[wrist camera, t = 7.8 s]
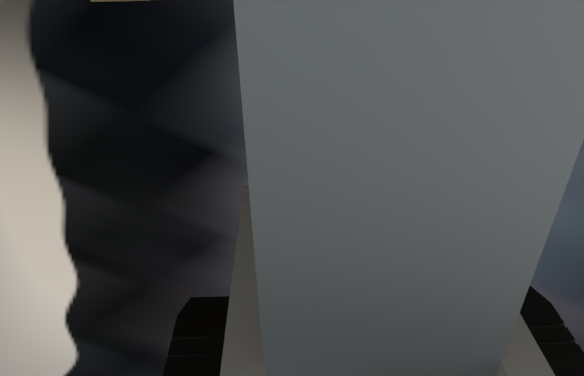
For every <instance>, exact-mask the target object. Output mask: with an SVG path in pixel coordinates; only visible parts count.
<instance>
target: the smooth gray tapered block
mask: <svg viewBox="0 0 584 376" xmlns="http://www.w3.org/2000/svg"><path fill="white" fill-rule="evenodd" d="M233 4H234V16H235V28H236V40H237V52H238V64H239V76H240V88H241V100H242V112H243V124H244V136H245V148H246V160H247V172H248V184H249V196H250V208H251V220H252V232H253V244H254V256H255V268H256V280H257V292H258V304H259V316H260V328H261V340H262V352H263V364H264V367H266V376H495V375H496V373H497V370H498V367H499V364H500V362H501V360H502V359H503V356H504V354H505V351H506V348H507V345H508V343H509V340H510V337H511V335H512V332H513V329H514V327H515V324H516V321H517V318H518V316H519V313H520V310H521V308H522V305H523V302H524V299H525V297H526V294H527V291H528V289H529V286H530V283H531V281H532V278H533V275H534V272H535V270H536V267H537V264H538V262H539V259H540V256H541V253H542V251H543V248H544V245H545V243H546V240H547V237H548V235H549V232H550V229H551V226H552V224H553V221H554V218H555V216H556V213H557V210H558V207H559V205H560V202H561V199H562V197H563V194H564V191H565V189H566V186H567V183H568V180H569V178H570V175H571V172H572V170H573V167H574V164H575V161H576V159H577V156H578V153H579V151H580V148H581V145H582V143H583V140H584V0H233Z"/></svg>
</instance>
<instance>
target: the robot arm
mask: <svg viewBox="0 0 584 376" xmlns="http://www.w3.org/2000/svg"><path fill="white" fill-rule="evenodd" d="M163 376H266V367H264V364H263V352H262V340H261V328H260V316H259V304H258V292H257V280H256V268H255V256H254V244H253V232H252V220H251V208H250V196H249V186H243V192H242V200H241V208H240V216H239V224H238V232H237V240H236V248H235V257H234V265H233V273H232V281H231V289H230V296H227V297H193V298H190V299H189V301H188V302H187V303H186V305H185V306H184V307H183V309H182V310H181V311H180V313H179V314H178V315H177V319H176V323H175V327H174V331H173V335H172V341H171V344H170V348H169V352H168V358H167V360H166V365H165V369H164V373H163ZM495 376H584V353H583V351H582V350H581V348H580V346H579V345H576V343H575V339H574V337H573V336H572V334H571V333H570V331H569V330H568V328H567V327H566V328H565V326H564V322H563V320H562V319H561V317H560V316H559V314H558V313H557V311H556V310H555V308H554V307H553V305H552V304H551V303H550V302H549V301H548V300H547V299H545V298H544V297H543V296H542V295H541V294H539V293H538V292H537V291H536V290H535V289H533V288H532V287H531V286H529V289H528V291H527V294H526V297H525V299H524V302H523V305H522V308H521V310H520V313H519V316H518V318H517V321H516V324H515V327H514V329H513V332H512V335H511V337H510V340H509V343H508V345H507V348H506V351H505V354H504V356H503V359H502V360H501V362H500V364H499V367H498V370H497V373H496V375H495Z"/></svg>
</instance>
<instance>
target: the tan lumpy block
mask: <svg viewBox="0 0 584 376" xmlns="http://www.w3.org/2000/svg"><path fill="white" fill-rule="evenodd" d="M107 1H149V0H91V2H107Z"/></svg>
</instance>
